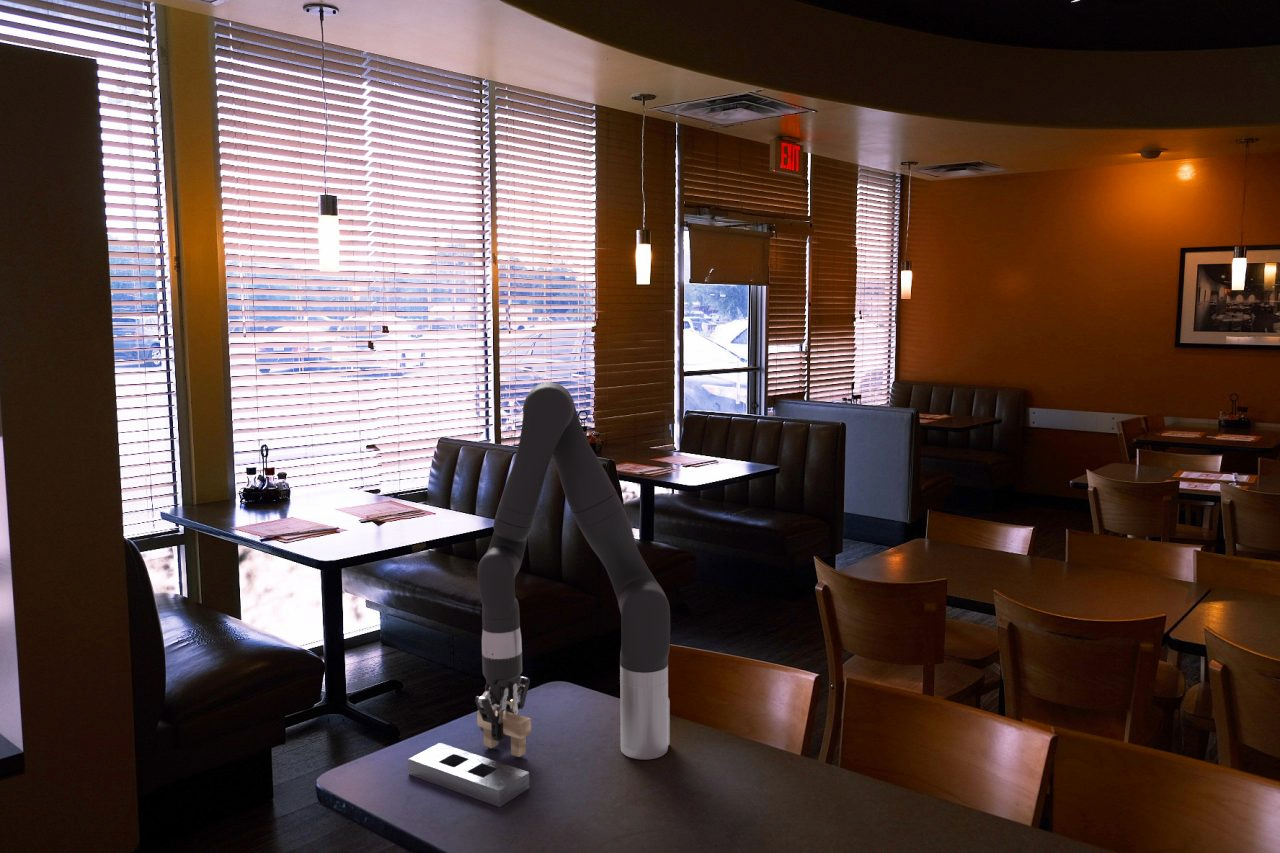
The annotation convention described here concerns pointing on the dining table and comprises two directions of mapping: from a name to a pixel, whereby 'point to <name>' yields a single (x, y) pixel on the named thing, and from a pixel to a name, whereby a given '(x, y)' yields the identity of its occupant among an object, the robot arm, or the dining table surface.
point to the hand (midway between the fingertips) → (504, 736)
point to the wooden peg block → (508, 731)
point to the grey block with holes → (469, 774)
